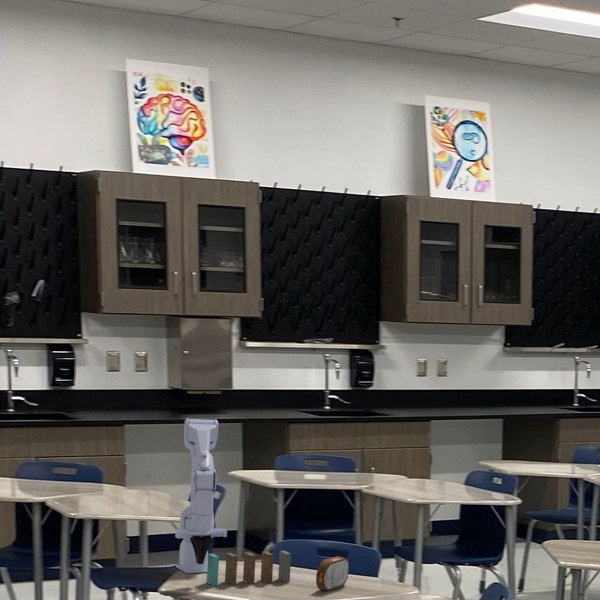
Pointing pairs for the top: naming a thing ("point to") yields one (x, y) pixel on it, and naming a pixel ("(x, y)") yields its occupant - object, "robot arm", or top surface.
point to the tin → (332, 573)
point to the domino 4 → (284, 566)
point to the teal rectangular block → (212, 569)
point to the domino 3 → (267, 567)
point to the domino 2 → (249, 567)
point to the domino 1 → (231, 568)
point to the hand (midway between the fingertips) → (199, 563)
